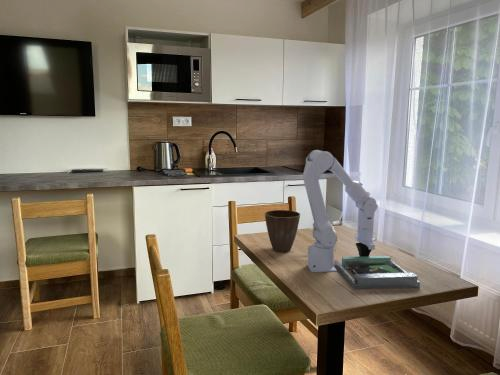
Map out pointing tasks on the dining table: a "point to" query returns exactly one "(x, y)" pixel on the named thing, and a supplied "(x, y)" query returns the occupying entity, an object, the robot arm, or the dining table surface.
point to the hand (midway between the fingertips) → (363, 262)
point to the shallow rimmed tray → (381, 279)
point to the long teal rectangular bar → (365, 261)
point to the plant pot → (282, 228)
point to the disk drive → (373, 269)
